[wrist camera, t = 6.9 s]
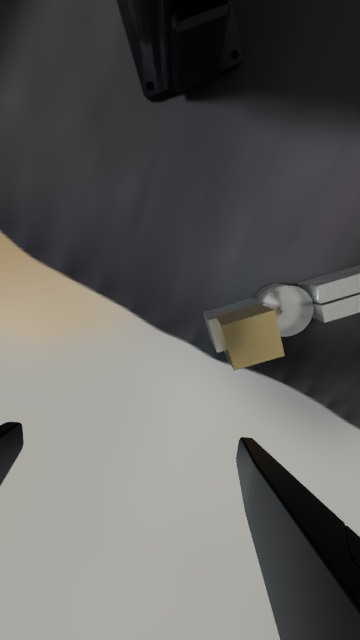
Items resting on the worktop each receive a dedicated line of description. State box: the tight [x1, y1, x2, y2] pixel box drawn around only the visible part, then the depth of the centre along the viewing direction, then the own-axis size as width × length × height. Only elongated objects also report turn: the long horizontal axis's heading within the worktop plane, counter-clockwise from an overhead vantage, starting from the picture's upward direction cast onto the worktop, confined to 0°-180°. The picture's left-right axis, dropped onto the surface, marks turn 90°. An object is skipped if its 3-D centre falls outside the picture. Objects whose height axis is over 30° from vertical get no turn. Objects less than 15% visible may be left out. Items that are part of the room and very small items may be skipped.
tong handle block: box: [203, 283, 314, 353], centre depth 17 cm, size 7×4×3 cm, turn 107°
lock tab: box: [215, 303, 285, 370], centre depth 14 cm, size 3×3×2 cm
